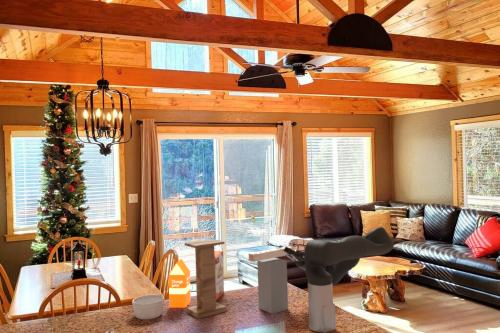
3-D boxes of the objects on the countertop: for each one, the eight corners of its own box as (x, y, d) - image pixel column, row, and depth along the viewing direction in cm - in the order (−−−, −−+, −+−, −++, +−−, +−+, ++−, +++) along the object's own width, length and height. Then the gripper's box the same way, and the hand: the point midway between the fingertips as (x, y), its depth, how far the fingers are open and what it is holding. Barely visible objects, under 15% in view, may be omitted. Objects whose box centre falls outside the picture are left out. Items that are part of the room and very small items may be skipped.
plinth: (288, 309, 188) (286, 260, 187) (271, 313, 182) (270, 263, 182) (274, 304, 195) (273, 257, 195) (258, 308, 190) (257, 260, 189)
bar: (293, 253, 193) (293, 247, 193) (253, 261, 181) (253, 254, 181) (288, 252, 196) (288, 246, 196) (248, 260, 183) (248, 253, 183)
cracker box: (217, 301, 201) (215, 256, 201) (204, 301, 202) (203, 256, 202) (225, 292, 215) (223, 250, 215) (213, 292, 216) (211, 250, 216)
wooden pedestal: (226, 311, 188) (224, 241, 187) (198, 318, 179) (195, 245, 179) (214, 305, 196) (212, 238, 196) (186, 312, 187) (184, 242, 187)
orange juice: (191, 301, 203) (189, 258, 203) (186, 307, 194) (184, 262, 194) (174, 301, 204) (173, 258, 204) (169, 307, 195) (167, 262, 195)
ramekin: (137, 323, 177) (136, 305, 177) (129, 313, 188) (128, 297, 188) (168, 316, 183) (168, 300, 183) (159, 308, 195) (158, 292, 195)
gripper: (315, 272, 194) (289, 258, 185) (294, 267, 205) (269, 253, 197) (321, 256, 196) (295, 242, 187) (299, 252, 208) (275, 238, 199)
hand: (282, 248), depth 192 cm, fingers closed on bar, 3 cm apart
